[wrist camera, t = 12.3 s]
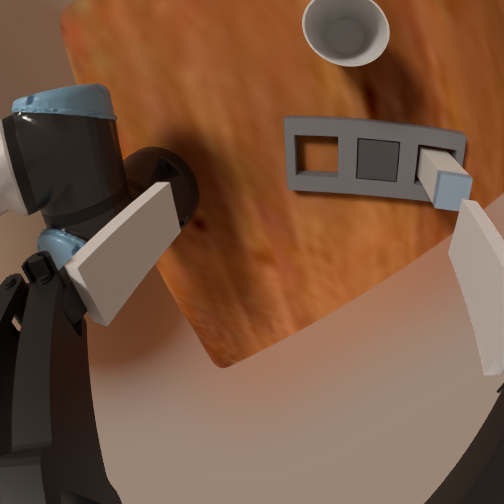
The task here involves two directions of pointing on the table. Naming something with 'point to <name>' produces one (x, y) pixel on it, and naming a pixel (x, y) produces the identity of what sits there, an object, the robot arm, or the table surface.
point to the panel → (368, 155)
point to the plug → (443, 178)
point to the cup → (346, 30)
